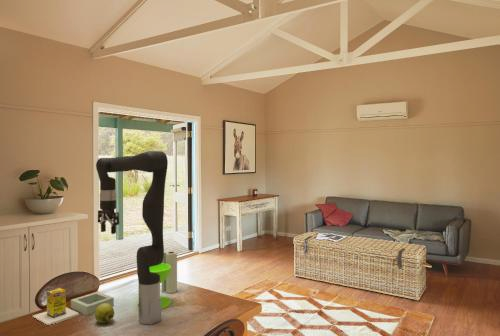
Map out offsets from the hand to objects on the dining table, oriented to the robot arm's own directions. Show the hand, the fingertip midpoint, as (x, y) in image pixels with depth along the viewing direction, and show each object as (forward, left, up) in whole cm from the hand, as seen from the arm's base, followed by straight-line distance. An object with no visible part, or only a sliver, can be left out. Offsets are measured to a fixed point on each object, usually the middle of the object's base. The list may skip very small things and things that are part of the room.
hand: (108, 232), depth 182 cm
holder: (+6, +5, -36) cm, 37 cm away
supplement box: (+9, +21, -35) cm, 42 cm away
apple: (-14, +11, -36) cm, 40 cm away
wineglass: (-15, -16, -36) cm, 42 cm away
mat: (+9, +21, -36) cm, 43 cm away
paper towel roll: (-8, -32, -36) cm, 49 cm away
